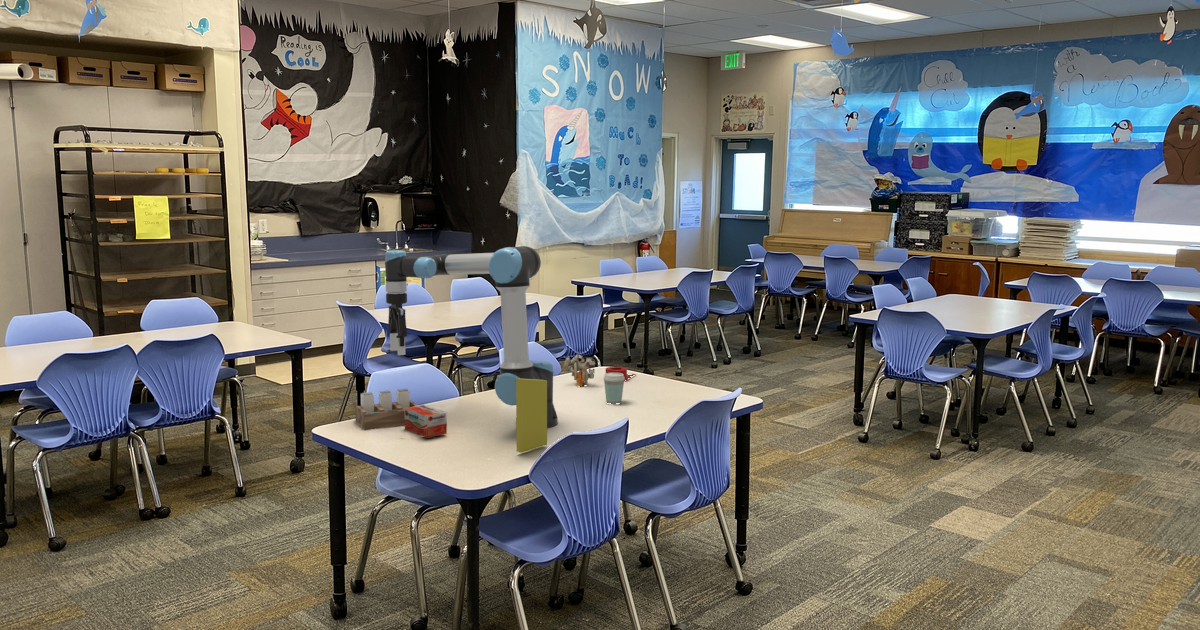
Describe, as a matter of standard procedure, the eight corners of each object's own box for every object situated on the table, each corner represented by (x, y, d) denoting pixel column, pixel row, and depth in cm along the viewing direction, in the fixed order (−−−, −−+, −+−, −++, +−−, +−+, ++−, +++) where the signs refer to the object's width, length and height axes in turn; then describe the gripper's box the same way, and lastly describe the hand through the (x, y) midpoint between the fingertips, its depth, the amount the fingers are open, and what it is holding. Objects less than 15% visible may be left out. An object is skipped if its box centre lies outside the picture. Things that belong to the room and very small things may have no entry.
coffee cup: (627, 405, 338) (627, 376, 337) (606, 407, 336) (606, 377, 335) (621, 400, 346) (621, 371, 345) (600, 402, 344) (601, 372, 343)
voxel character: (596, 388, 368) (596, 354, 366) (584, 392, 360) (584, 357, 358) (574, 385, 374) (574, 351, 372) (562, 389, 366) (562, 354, 364)
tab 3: (409, 409, 316) (409, 390, 315) (398, 410, 314) (398, 391, 313) (407, 407, 318) (406, 388, 317) (396, 409, 316) (396, 389, 315)
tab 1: (374, 413, 309) (373, 393, 308) (363, 414, 307) (362, 394, 306) (372, 411, 312) (371, 391, 311) (361, 413, 310) (360, 393, 309)
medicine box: (447, 434, 296) (447, 411, 295) (427, 438, 290) (426, 415, 289) (423, 425, 307) (423, 404, 306) (403, 429, 301) (403, 407, 300)
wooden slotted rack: (420, 423, 309) (420, 407, 308) (365, 430, 300) (364, 413, 299) (409, 414, 321) (409, 399, 320) (355, 421, 312) (355, 404, 311)
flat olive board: (542, 443, 286) (542, 372, 283) (547, 444, 284) (547, 373, 281) (516, 451, 276) (516, 378, 273) (521, 452, 275) (521, 379, 272)
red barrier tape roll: (617, 386, 373) (617, 371, 373) (601, 383, 379) (601, 368, 379) (642, 380, 387) (642, 365, 386) (626, 377, 393) (626, 363, 392)
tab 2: (392, 411, 312) (391, 391, 311) (381, 412, 311) (380, 392, 310) (390, 409, 315) (389, 390, 314) (379, 411, 313) (378, 391, 312)
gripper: (415, 295, 307) (416, 356, 310) (398, 289, 327) (399, 347, 330) (394, 296, 304) (395, 358, 307) (378, 290, 323) (380, 348, 326)
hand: (397, 352), depth 318 cm, fingers open, 9 cm apart
